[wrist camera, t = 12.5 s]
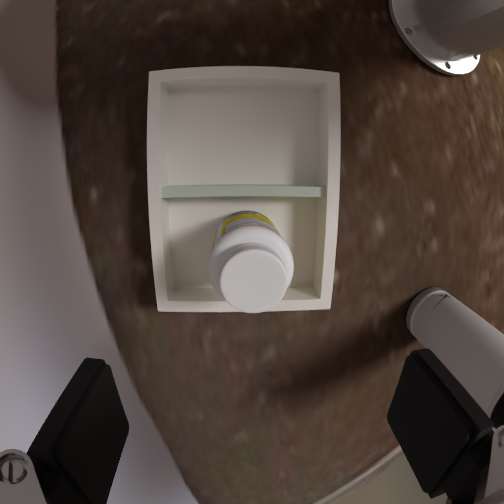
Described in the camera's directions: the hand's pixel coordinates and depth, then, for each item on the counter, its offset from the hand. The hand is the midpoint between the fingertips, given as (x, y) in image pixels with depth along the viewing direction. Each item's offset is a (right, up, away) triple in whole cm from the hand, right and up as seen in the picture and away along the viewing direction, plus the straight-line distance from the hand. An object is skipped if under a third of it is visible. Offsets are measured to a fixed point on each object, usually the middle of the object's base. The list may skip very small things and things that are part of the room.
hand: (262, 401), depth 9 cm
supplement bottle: (-1, +6, +19) cm, 20 cm away
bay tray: (-1, +10, +18) cm, 21 cm away
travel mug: (+20, -2, +23) cm, 30 cm away
